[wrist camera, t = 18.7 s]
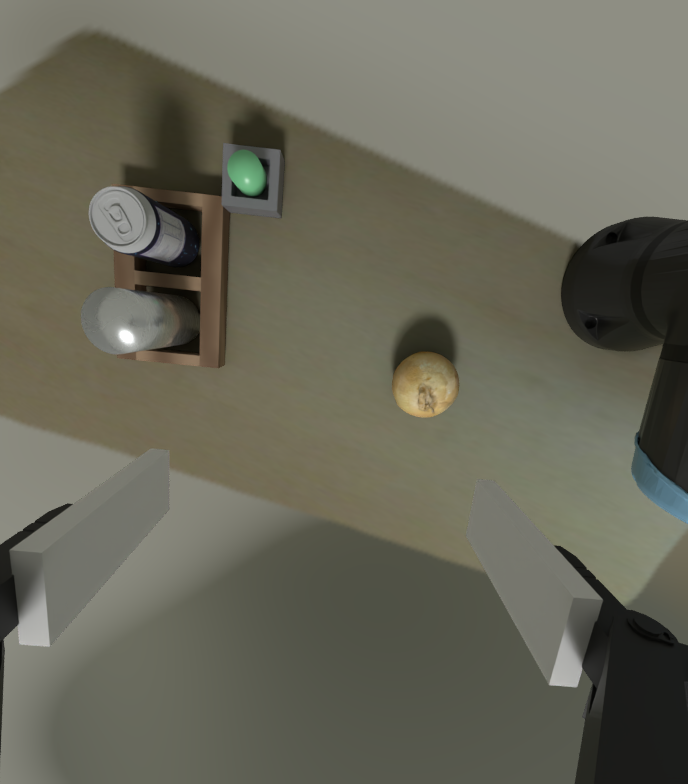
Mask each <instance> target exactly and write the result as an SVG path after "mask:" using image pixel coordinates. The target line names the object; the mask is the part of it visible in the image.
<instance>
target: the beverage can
mask: <svg viewBox="0 0 688 784" xmlns="http://www.w3.org/2000/svg"><path fill="white" fill-rule="evenodd" d="M89 220H90V223H91V226H92V228H93V230H94V232H95V233H96V234H97V236H98V237H99V238H100V239H101V240H102V241H104V242H105V244H106V245H108V246H109V247H110V248H111V249H113V250H115V251H117V252H119V253H122V254H126V255H130V256H134V257H137V258H141V259H145V260H149V261H153V262H156V263H160V264H164V265H168V266H171V267H183V266H186V265H188V264H190V263H191V262H192V261H193V260H194V259H195V257H196V256H197V254H198V251H199V237H198V233H197V231H196V229H195V228H194V226H193V225H192V224H191V223H190V222H189V221H188V220H186V219H185V218H183V217H181V216H180V215H178V214H176V213H175V212H173V211H171V210H170V209H168V208H166V207H165V206H163V205H161V204H160V203H158V202H156V201H155V200H153V199H151V198H150V197H148V196H146V195H145V194H143V193H141V192H140V191H138V190H136V189H134V188H131V187H126V186H118V187H117V186H111V187H106V188H103V189H101V190H100V191H98V192H97V193H96V194H95V195H94V197H93V198H92V200H91V203H90V206H89Z"/></svg>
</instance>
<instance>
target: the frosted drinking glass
mask: <svg viewBox="0 0 688 784" xmlns="http://www.w3.org/2000/svg"><path fill="white" fill-rule="evenodd" d="M81 323H82V327H83V330H84V332H85V334H86V336H87V337H88V339H89V340H90V341H91V342H92V343H93V344H94V345H95V346H96V347H97V348H99V349H100V350H102V351H104V352H107V353H111V354H125V353H132V352H138V351H144V350H151V349H157V348H163V347H170V346H176V345H182V344H187V343H189V342H191V341H192V340H193V339H195V337H196V336H197V335H198V333H199V331H200V314H199V311H198V309H197V308H196V306H195V305H194V304H193V303H192V302H191V301H190V300H189V299H187V298H185V297H183V296H179V295H171V294H163V293H154V292H146V291H138V290H130V289H122V288H114V287H105V288H101V289H98V290H96V291H94V292H92V293H91V294H90V295H89V296H88V297H87V298H86V300H85V302H84V304H83V306H82V310H81Z"/></svg>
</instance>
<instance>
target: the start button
mask: <svg viewBox="0 0 688 784" xmlns="http://www.w3.org/2000/svg"><path fill="white" fill-rule="evenodd" d="M227 170H228V174H229V177H230V178H231V180H232V181H233V182H234V184H235V185H236V186H237V187H238V188H239V190H240V191H241V192H242V193H243V194H245V195H247V196H251V197H254V196H258V195H260V194H261V193H263V191H264V190H265V188H266V186H267V174H266V172H265V170H264V168H263V166H262V164H261V163H260V161H259V159H258V157H257V156H256V155H255V154H254V153H252V152H251V151H248V150H239V151H236V152H235V153H233V154H232V155H231V157H230V159H229V161H228V166H227Z"/></svg>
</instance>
